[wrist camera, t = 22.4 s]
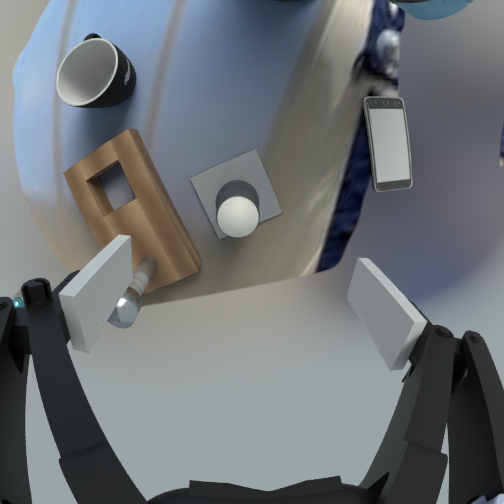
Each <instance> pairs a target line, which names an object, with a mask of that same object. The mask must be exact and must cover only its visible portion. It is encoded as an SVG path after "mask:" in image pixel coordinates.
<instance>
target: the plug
mask: <svg viewBox="0 0 504 504" xmlns="http://www.w3.org/2000/svg"><path fill="white" fill-rule="evenodd" d="M215 205H216V209H217V210H216V221H217V224H218V226H219V227H220V229H221V230H222V231H223V232H224V233H226V234H227V235H229V236H232V237H244V236H247V235H249V234H250V233H251V232H252V231H253V230H254V229H255V228H256V227H257V225H258V223H259V220H260V211H259V196H258V193H257V191H256V190H255V188H254V187H253V186H252V185H251V184H249V183H248V182H245V181H242V180H233V181H230V182H227V183H226V184H224V185H223V186H222V187H221V188H220V190H219V191H218V193H217V196H216V201H215Z"/></svg>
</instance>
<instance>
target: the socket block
mask: <svg viewBox="0 0 504 504" xmlns="http://www.w3.org/2000/svg"><path fill="white" fill-rule="evenodd" d="M119 163H120V164H121V167H122V169H123V171H124V173H125V175H126V177H127V179H128V181H129V183H130V186H131V188H132V190H133V192H134V194H135V196H136V199H134V200H132V201H130V202H129V203H127V204H125V205H123V206H122V207H120V208H118V209H116V210H115V211H114V210H113V208H112V206H111V204H110V202H109V200H108V198H107V196H106V194H105V192H104V189H103V187H102V185H101V183H100V181H99V179H98V176H100V175H101V174H103V173H104V172H106V171H108V170H109V169H111V168H112V167H114V166H115V165H117V164H119ZM63 174H64V176H65V178H66V181H67V183H68V185H69V187H70V189H71V192H72V194H73V196H74V198H75V200H76V202H77V204H78V206H79V208H80V210H81V212H82V214H83V216H84V218H85V220H86V222H87V224H88V226H89V228H90V230H91V232H92V234H93V235H94V237H95V239H96V241H97V243H98V245H99V246H100V248H101V250H103V249H104V248H105V247H106V246H107V245H108V244H109V243H110V242H111V241H112V240H113V239H115V238H116V237H117V236H118V235H127V236H131V254H132V271H133V280H132V282H131V283H130V285H129V287H132V288H133V289H135V290H136V291H137V292H138V293H139V295H140V296H142V295H145V294H147V293H149V292H152V291H154V290H157V289H159V288H161V287H164V286H166V285H168V284H171V283H173V282H176V281H178V280H180V279H183V278H185V277H187V276H190V275H192V274H195V273H197V272H199V269H200V265H201V261H202V260H201V258H200V256H199V254H198V252H197V251H196V249H195V247H194V245H193V243H192V241H191V239H190V237H189V235H188V233H187V231H186V229H185V227H184V226H183V224H182V222H181V220H180V218H179V216H178V214H177V212H176V210H175V208H174V206H173V204H172V202H171V200H170V198H169V196H168V194H167V192H166V190H165V187H164V185H163V183H162V181H161V179H160V177H159V175H158V173H157V171H156V169H155V167H154V164H153V162H152V160H151V158H150V156H149V154H148V152H147V149H146V147H145V145H144V143H143V141H142V139H141V136H140V134H139V132H138V130H133V129H127V130H125V131H124V132H122V133H120V134H119V135H117V136H116V137H114V138H112V139H111V140H109V141H108V142H106V143H105V144H103V145H102V146H100V147H99V148H97V149H96V150H94V151H93V152H91V153H90V154H89V155H87V156H86V157H84V158H83V159H82V160H80V161H79V162H78V163H76V164H75V165H73V166H72V167H71V168H69V169H68V170H67V171H66V172H64V173H63Z"/></svg>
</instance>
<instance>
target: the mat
mask: <svg viewBox="0 0 504 504" xmlns="http://www.w3.org/2000/svg"><path fill="white" fill-rule="evenodd" d="M190 180H191V182H192V184H193V186H194V188H195V190H196V192H197V194H198V197H199V199H200V201H201V203H202V205H203V207H204V209H205V211H206V213H207V215H208V217H209V219H210V221H211V223H212V225H213V227H214V229H215V232H216V234H217V236H218V238H219V240H220V239H222V238H225V237H227V236H229V235H227V234H226V233H224V232H223V231H222V230H221V229H220V227H219V226H218V224H217V221H216V210H217V209H216V205H215V201H216V196H217V193H218V191H219V190H220V188H221V187H222V186H223V185H224V184H226V183H227V182H230V181H233V180H242V181H245V182H248V183H249V184H251V185H252V186H253V187H254V188H255V190H256V191H257V193H258V196H259V211H260V220H259V223H260V222H262V221H265V220H267V219H269V218H272V217H274V216H277V215H279V214H281V213H283V212H282V210H281V207H280V205H279V202H278V200H277V198H276V195H275V193H274V190H273V188H272V186H271V183H270V181H269V178H268V176H267V174H266V171H265V169H264V167H263V164H262V162H261V160H260V157H259V155H258V153H257V150H256V149H254V150H251V151H249V152H247V153H244V154H242V155H239V156H237V157H235V158H233V159H230V160H228V161H226V162H223V163H221V164H219V165H217V166H215V167H212V168H210V169H208V170H206V171H204V172H202V173H199V174H197V175H195V176H193V177H191V178H190Z"/></svg>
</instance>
